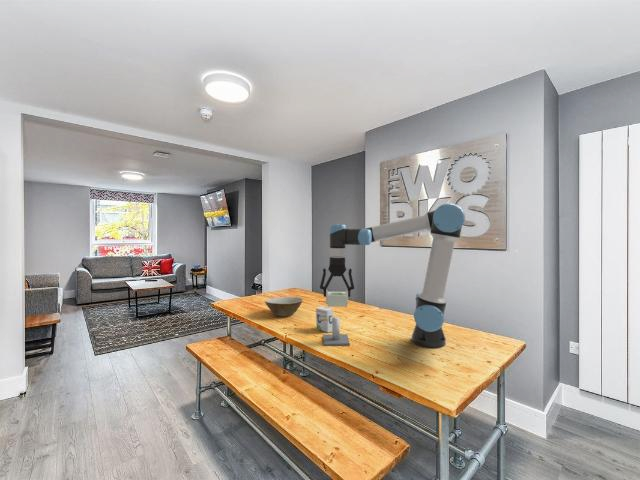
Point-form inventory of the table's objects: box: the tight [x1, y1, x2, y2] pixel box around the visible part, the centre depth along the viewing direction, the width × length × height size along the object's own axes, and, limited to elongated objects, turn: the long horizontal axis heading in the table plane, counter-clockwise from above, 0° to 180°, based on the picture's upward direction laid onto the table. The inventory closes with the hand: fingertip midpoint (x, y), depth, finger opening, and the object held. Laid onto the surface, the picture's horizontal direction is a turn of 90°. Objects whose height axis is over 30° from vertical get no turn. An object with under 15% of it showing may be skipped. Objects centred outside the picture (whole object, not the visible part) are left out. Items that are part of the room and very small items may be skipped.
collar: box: [326, 291, 348, 308], centre depth 144 cm, size 9×9×5 cm
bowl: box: [264, 296, 304, 317], centre depth 190 cm, size 24×24×10 cm
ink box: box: [315, 305, 334, 333], centre depth 161 cm, size 9×5×12 cm, turn 47°
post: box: [322, 316, 351, 347], centre depth 145 cm, size 12×12×11 cm
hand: (336, 303), depth 144 cm, fingers closed on collar, 9 cm apart
